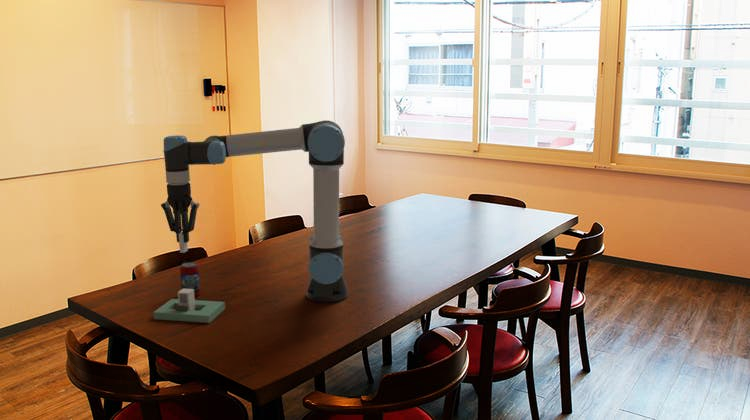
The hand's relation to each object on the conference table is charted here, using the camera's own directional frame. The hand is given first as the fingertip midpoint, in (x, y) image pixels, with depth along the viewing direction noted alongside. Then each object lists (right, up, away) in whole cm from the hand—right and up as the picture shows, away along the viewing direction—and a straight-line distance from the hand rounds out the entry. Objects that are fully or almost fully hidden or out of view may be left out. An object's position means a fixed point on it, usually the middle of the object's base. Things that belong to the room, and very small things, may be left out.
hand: (183, 251), depth 231 cm
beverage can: (-4, -18, +23) cm, 29 cm away
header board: (+1, -22, +5) cm, 22 cm away
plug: (0, -21, +5) cm, 22 cm away
